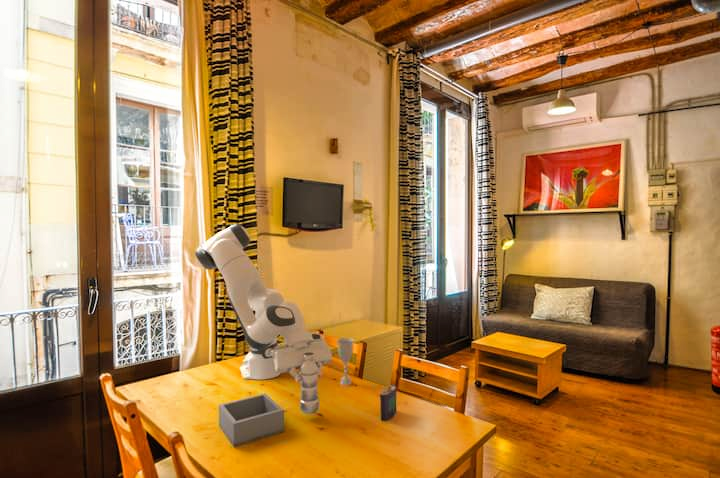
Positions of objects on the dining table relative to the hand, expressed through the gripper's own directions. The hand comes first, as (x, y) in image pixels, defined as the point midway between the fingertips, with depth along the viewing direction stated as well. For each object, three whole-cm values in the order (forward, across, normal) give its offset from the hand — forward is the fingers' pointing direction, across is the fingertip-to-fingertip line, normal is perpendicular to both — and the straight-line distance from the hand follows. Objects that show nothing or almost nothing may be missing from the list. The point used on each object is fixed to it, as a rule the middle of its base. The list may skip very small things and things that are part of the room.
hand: (309, 378), depth 136 cm
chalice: (-6, +26, +26) cm, 37 cm away
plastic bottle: (+8, 0, +9) cm, 12 cm away
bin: (+7, -19, +13) cm, 24 cm away
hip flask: (+18, +24, +2) cm, 31 cm away
